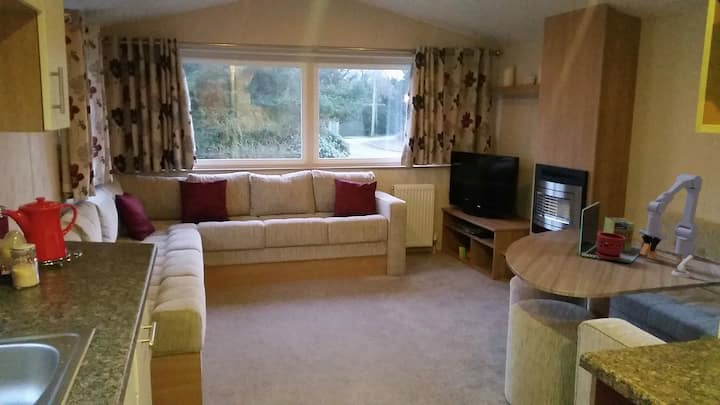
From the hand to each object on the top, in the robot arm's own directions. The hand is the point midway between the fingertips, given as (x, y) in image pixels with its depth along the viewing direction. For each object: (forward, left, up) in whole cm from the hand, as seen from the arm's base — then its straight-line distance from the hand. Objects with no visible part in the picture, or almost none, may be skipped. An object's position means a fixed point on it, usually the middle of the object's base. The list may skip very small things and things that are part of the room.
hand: (649, 250), depth 273 cm
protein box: (-2, -22, -5) cm, 23 cm away
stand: (-9, 0, -5) cm, 10 cm away
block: (+2, 0, -3) cm, 3 cm away
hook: (+7, +23, -5) cm, 25 cm away
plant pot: (+19, -8, -5) cm, 21 cm away
